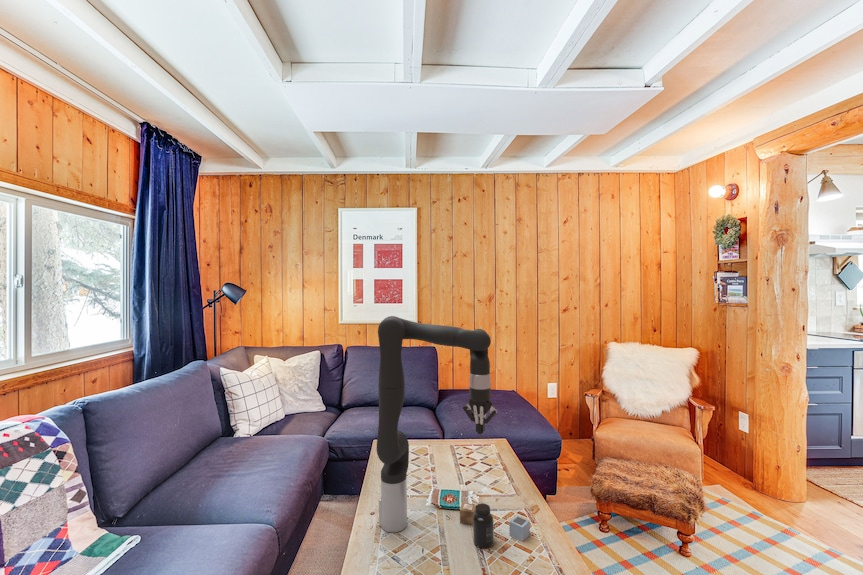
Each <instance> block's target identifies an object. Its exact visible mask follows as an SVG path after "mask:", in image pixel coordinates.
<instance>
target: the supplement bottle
mask: <svg viewBox="0 0 863 575" xmlns="http://www.w3.org/2000/svg"><path fill="white" fill-rule="evenodd" d="M490 507H491V506H490V505H489V504H487V503H484V502H483V503H482V502H481V503H478V504H476V513H475V514H474V516H473V526H472V531H473V532H472V534H473V536H472V538H473V543H474V545H475V546H476V547H478V548H481V549H488V548H491V547H492V546H493V545H494V541H495V540H494V539H495V538H494V537H495V536H494V528H495V527H494V516H493V515H492V513H491V508H490Z"/></svg>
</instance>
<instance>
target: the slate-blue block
mask: <svg viewBox="0 0 863 575" xmlns="http://www.w3.org/2000/svg"><path fill="white" fill-rule="evenodd" d="M530 525H531V524H530V519H527V518H525V517H523V516H520V515H518V514H516V515H515V516H514V517H512V519H511V520H509V536H510V537H512V538H514V539H516V540H518V541H520V542H522V543H523V542H524V541H525V540H526V539H527V538H528V537H529V536H530V535H531V534H530V531H531V530H530V529H531V527H530Z"/></svg>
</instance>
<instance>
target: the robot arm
mask: <svg viewBox="0 0 863 575" xmlns="http://www.w3.org/2000/svg"><path fill="white" fill-rule="evenodd" d="M377 337H378V343H379V346H378V347H379V356H380V359H379V368H378V371H379V372H378V428H377V436H376V455H377V457H378V459H379V461H380V462H381V463H383V466H382V468H381V470H380V496H381V497H380V498H379V499H378V526H379V527H381V528H382V529H383V531H385V532H387V533H398V532H399V533H400V532H402V531H403V530H405V529H406V527H407V526H408V494H407V493H408V492H407V491H408V490H407V487H408V486H407V484H408V483H407V480H408V479H407V475H408V474H407V472H408V469H409V461H410V460H409V459H410V444H409V439H408V437H407V436H406V434H405V433H404V432H403V431H402V430H398V429H399V428H398V427H399V420H400V417H401V413H402V410H403V406H404V402H405V396H406V393H405V391H406V389H405V388H406V387H405V383H406V382H405V373H404V367H403V360H402V350H403V340H416V341H422V342H426V343H430V344H433V345H438V346H445V347H454V348H455V347H456V348H462V349H466V350H469V357H470V359H469V360H470V361H469V382H468V383H469V400H468V403H467V404H465V405H464V406H463V407H462V409H463V411H464V412H465V414H466V415H467V416H468V418H469V420H470V421H471V422H473V423H475V432H476V433H477V435H483V434H484V433H485V430H486V425H485V424H488V423H489V422H490V421H491V420H492V418H494V417H495V415H496V414H497V413H498V411H499V410H498V409H497V408H495V407H494V406H493V402H492V399H491V398H492V393H491V392H492V391H491V390H492V389H491V387H492V382H491V372H490V371H491V364H490V358H489V347H490V346H491V344H492V343H491V342H492V341H491V336H490V335H489V333H487V331H485V330H484V329H481V328H476V329H474V330H472V329H464V328H461V327H457V326H452V325H451V326H449V325H440V324H428V323H421V322H417V321H416V322H415V321H412V320H407V319H404V318H401V317H398V316H395V315H391V316H387V317H385V318H383V320H382V321H381V322H380V323H379V324H378V328H377ZM488 412H489V413H490V414H489V415H488V416H487V413H488ZM486 416H487V417H486Z"/></svg>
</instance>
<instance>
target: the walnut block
mask: <svg viewBox="0 0 863 575" xmlns="http://www.w3.org/2000/svg"><path fill="white" fill-rule="evenodd" d="M476 505H477V504H475V503H468V502H462V504H461V506H460V509H459V524H461V523H462V525H466V524H467V525H468V526H472V525H473V516H474V514H475V513H476Z"/></svg>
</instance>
